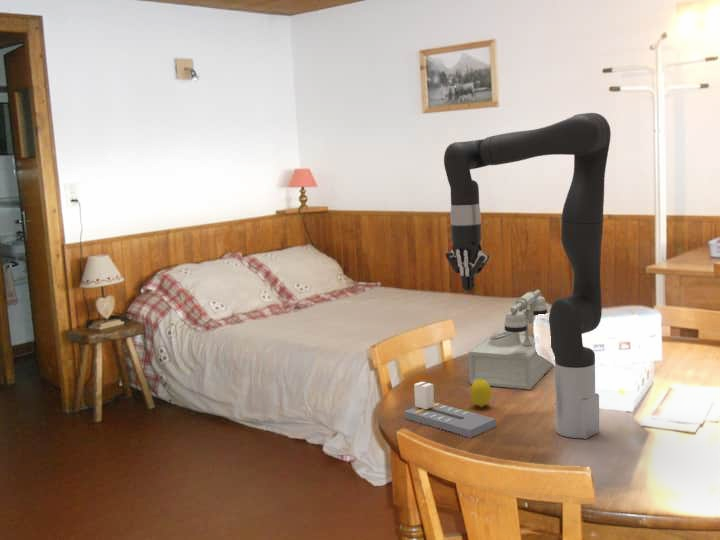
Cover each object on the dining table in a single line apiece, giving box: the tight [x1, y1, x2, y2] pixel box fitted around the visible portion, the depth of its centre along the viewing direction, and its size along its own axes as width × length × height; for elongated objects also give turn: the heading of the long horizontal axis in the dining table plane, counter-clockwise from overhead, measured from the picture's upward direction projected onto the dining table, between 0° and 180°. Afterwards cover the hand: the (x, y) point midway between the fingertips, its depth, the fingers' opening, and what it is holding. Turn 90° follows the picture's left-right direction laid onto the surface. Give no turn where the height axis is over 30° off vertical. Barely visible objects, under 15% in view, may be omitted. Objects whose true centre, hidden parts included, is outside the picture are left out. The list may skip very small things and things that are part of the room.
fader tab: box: [413, 381, 435, 409], centre depth 214 cm, size 4×3×6 cm
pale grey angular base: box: [468, 289, 553, 390], centre depth 244 cm, size 32×20×25 cm, turn 153°
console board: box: [404, 401, 497, 439], centre depth 209 cm, size 22×10×2 cm, turn 42°
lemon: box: [469, 378, 492, 408], centre depth 218 cm, size 6×6×8 cm
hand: (468, 290), depth 208 cm, fingers closed
